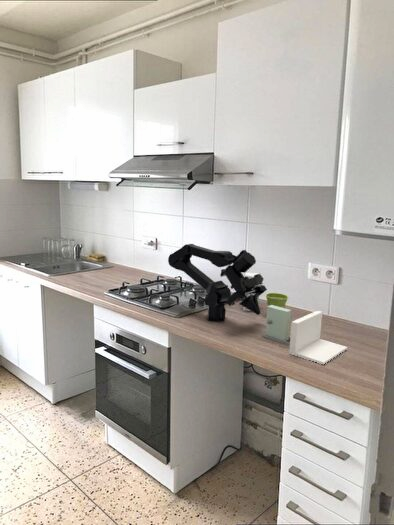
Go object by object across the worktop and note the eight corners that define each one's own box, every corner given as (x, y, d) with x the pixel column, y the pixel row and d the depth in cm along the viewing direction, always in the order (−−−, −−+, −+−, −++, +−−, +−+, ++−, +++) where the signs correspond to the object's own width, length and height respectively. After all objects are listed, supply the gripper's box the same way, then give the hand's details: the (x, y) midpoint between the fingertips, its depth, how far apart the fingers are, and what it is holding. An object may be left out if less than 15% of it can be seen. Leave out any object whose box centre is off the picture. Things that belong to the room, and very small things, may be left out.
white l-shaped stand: (251, 340, 146) (253, 310, 144) (278, 328, 159) (280, 301, 157) (323, 365, 129) (327, 331, 127) (346, 349, 142) (350, 318, 140)
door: (263, 336, 150) (265, 307, 148) (269, 333, 153) (271, 304, 151) (283, 342, 145) (285, 312, 143) (288, 339, 148) (291, 310, 146)
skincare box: (257, 312, 179) (260, 277, 176) (242, 310, 180) (244, 275, 177) (258, 306, 187) (261, 273, 184) (243, 305, 189) (246, 271, 186)
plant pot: (282, 312, 181) (283, 292, 179) (290, 319, 172) (291, 298, 170) (261, 312, 179) (262, 292, 178) (268, 319, 170) (269, 298, 169)
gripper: (235, 270, 147) (259, 307, 142) (264, 264, 161) (287, 298, 156) (216, 287, 153) (239, 324, 148) (246, 280, 167) (267, 313, 162)
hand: (259, 314), depth 153 cm, fingers closed
